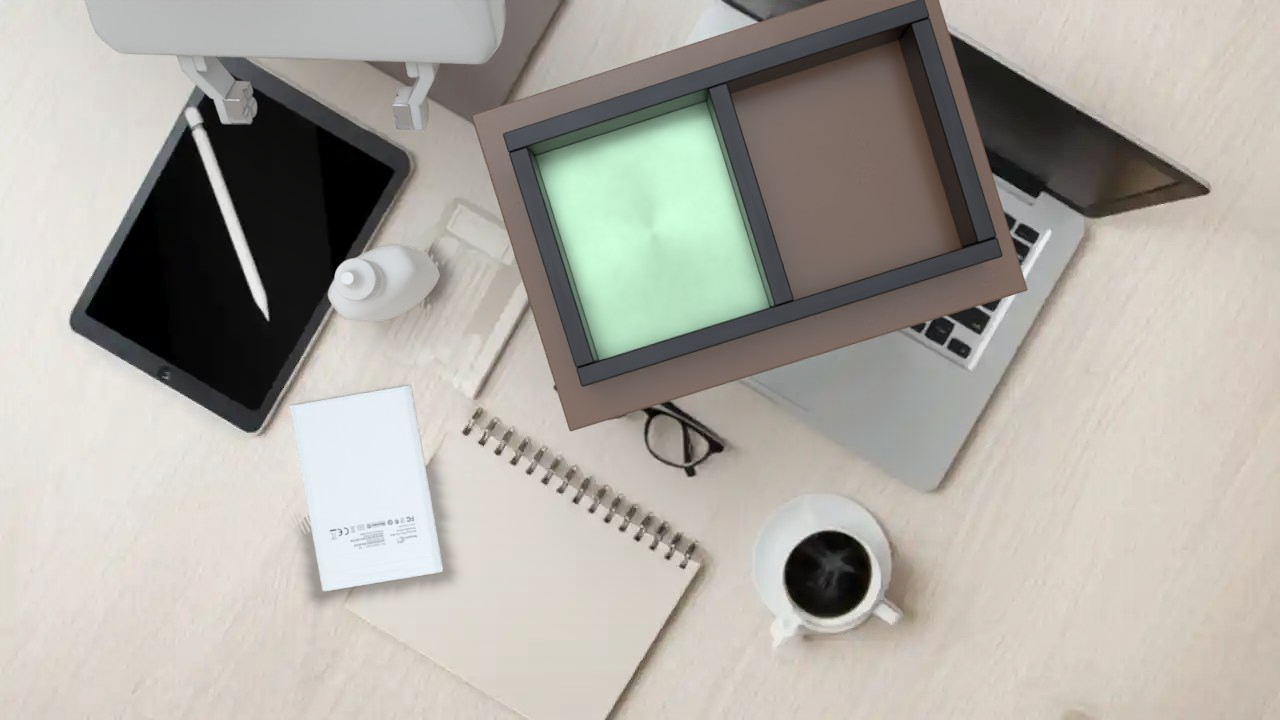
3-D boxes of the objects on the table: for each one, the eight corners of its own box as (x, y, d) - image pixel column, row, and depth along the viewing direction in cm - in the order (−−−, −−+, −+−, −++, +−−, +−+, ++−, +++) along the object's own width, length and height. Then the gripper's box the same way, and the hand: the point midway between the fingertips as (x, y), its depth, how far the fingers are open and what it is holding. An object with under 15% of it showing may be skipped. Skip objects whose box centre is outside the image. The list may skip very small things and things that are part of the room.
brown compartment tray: (475, 120, 47) (458, 102, 44) (922, -24, 46) (943, -55, 43) (572, 429, 48) (563, 437, 44) (1019, 291, 47) (1048, 288, 43)
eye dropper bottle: (358, 257, 73) (293, 243, 61) (441, 250, 72) (393, 234, 60) (364, 323, 73) (301, 321, 61) (447, 316, 73) (400, 312, 61)
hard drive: (416, 383, 73) (447, 567, 73) (296, 404, 73) (328, 587, 73) (410, 384, 71) (442, 573, 71) (287, 405, 72) (320, 592, 72)
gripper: (4, -116, 47) (115, 149, 57) (475, -105, 47) (504, 162, 57) (65, -173, 52) (158, 83, 62) (496, -164, 51) (520, 94, 61)
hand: (327, 121), depth 59 cm, fingers open, 8 cm apart
